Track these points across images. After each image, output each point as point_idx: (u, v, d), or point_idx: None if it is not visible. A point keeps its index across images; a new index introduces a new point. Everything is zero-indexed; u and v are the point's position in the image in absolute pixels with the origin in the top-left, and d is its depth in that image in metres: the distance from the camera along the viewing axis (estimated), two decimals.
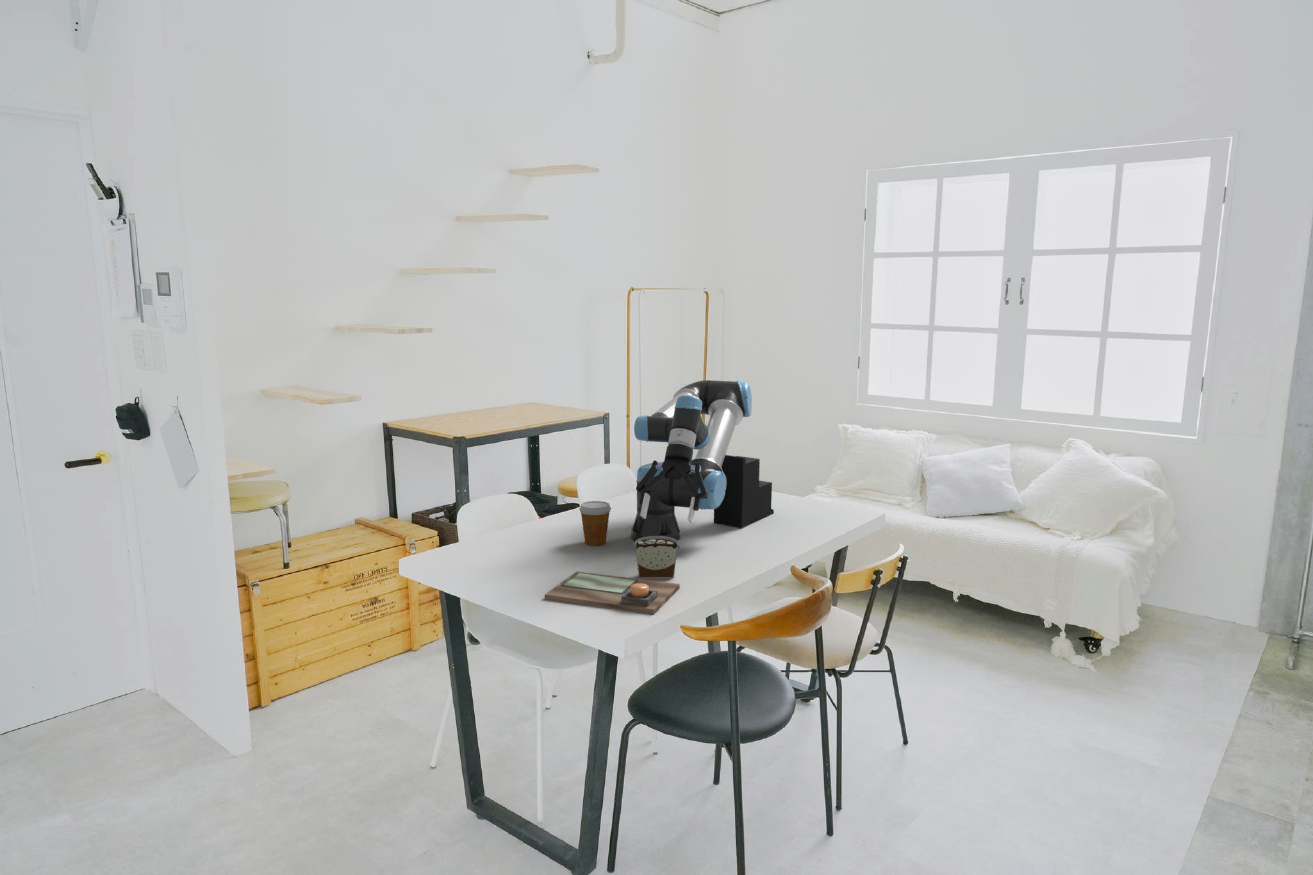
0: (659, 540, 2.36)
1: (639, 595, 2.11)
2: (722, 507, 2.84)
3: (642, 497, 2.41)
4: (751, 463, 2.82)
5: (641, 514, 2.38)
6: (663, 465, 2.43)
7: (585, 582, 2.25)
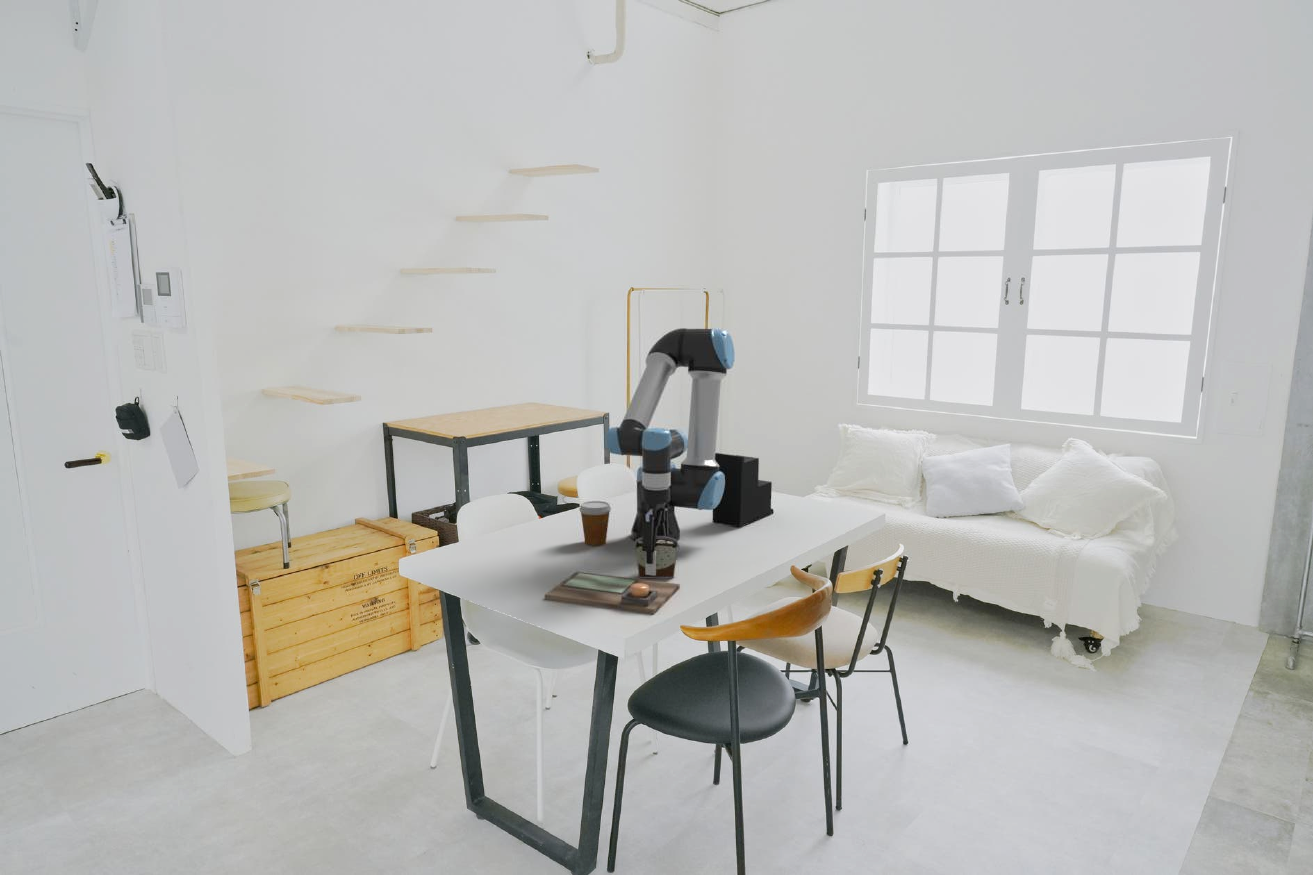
0: (659, 540, 2.36)
1: (639, 595, 2.11)
2: (721, 506, 2.84)
3: None
4: (749, 463, 2.82)
5: None
6: None
7: (585, 582, 2.25)
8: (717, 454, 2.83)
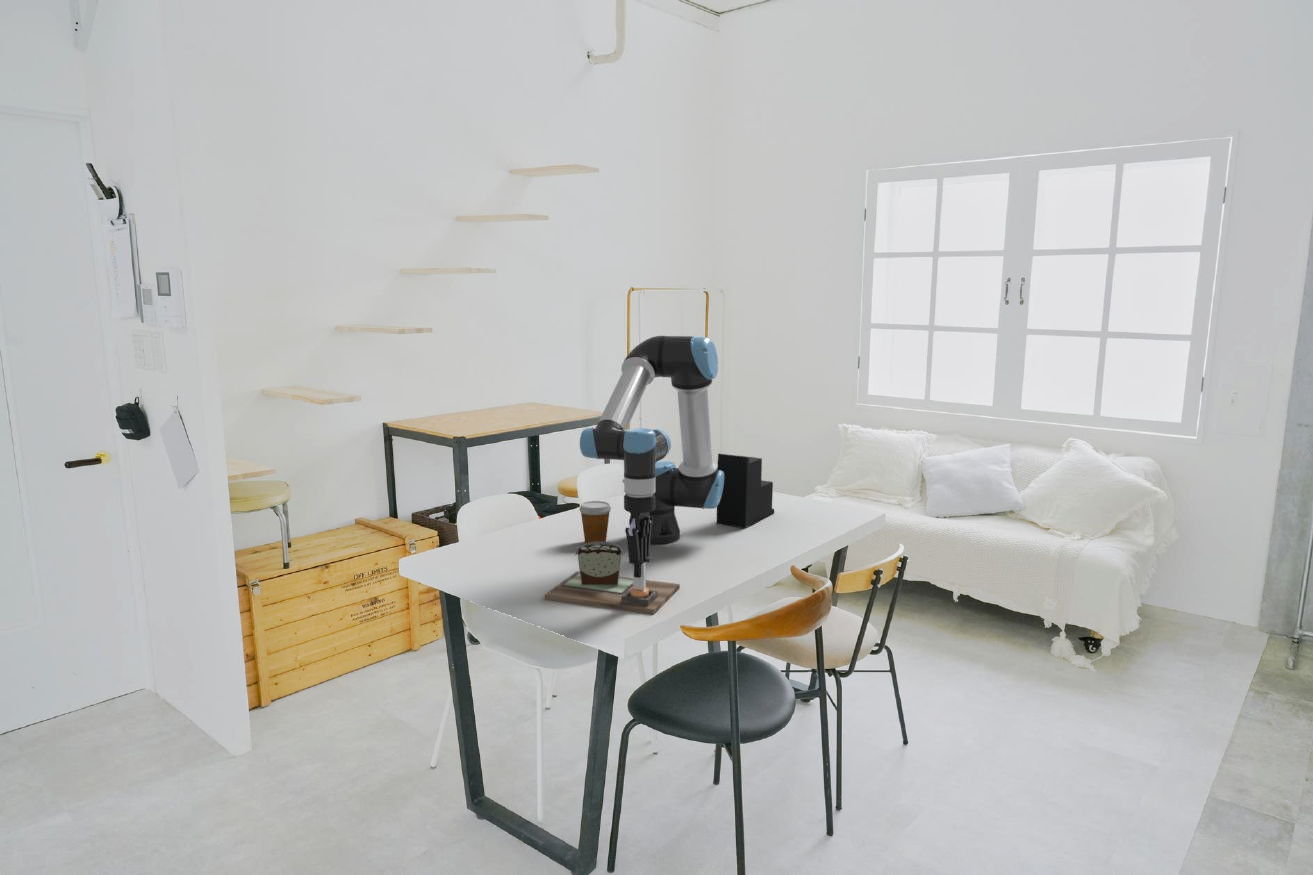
0: (604, 546, 2.25)
1: None
2: (725, 507, 2.83)
3: None
4: (754, 463, 2.82)
5: None
6: None
7: None
8: (721, 455, 2.81)
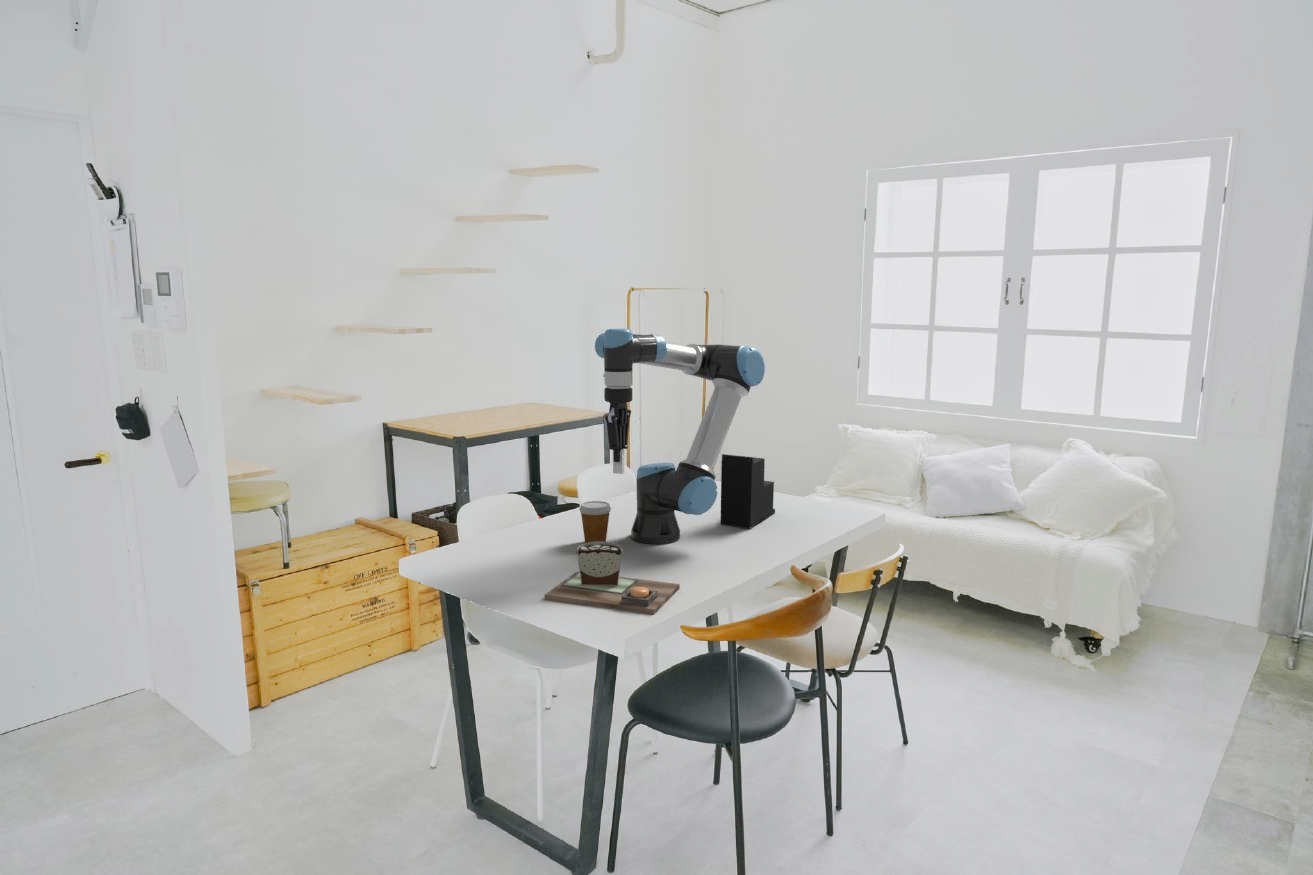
0: (604, 546, 2.25)
1: None
2: (729, 508, 2.82)
3: None
4: (758, 463, 2.81)
5: None
6: None
7: None
8: (725, 455, 2.80)
